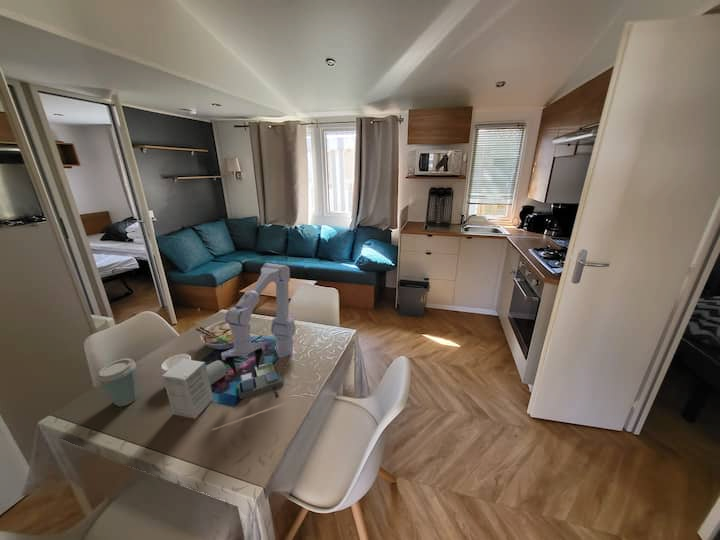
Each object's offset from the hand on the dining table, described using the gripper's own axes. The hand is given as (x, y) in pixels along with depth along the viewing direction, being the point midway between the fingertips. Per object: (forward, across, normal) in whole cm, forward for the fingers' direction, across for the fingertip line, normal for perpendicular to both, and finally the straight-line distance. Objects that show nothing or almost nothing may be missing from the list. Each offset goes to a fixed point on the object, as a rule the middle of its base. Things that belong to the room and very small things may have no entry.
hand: (246, 369), depth 103 cm
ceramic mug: (+10, -13, +13) cm, 21 cm away
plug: (+9, 0, 0) cm, 9 cm away
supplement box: (+10, -19, +1) cm, 21 cm away
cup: (+10, -24, +18) cm, 31 cm away
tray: (+10, +7, +7) cm, 14 cm away
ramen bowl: (+10, -5, +37) cm, 38 cm away
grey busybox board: (+10, +4, -3) cm, 11 cm away
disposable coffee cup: (+10, -41, +16) cm, 45 cm away
